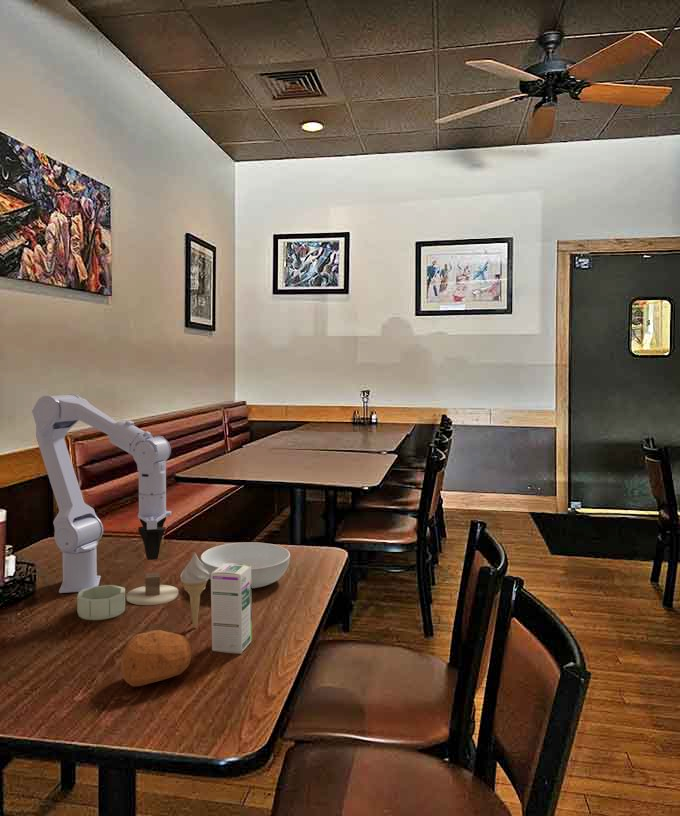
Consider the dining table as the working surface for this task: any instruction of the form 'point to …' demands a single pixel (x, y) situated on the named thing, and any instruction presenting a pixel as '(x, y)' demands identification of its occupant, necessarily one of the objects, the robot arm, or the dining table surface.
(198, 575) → the ice cream cone
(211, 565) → the serving bowl
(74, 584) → the robot arm
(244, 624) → the syrup box
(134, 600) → the lid
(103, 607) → the bowl
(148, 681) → the potato
